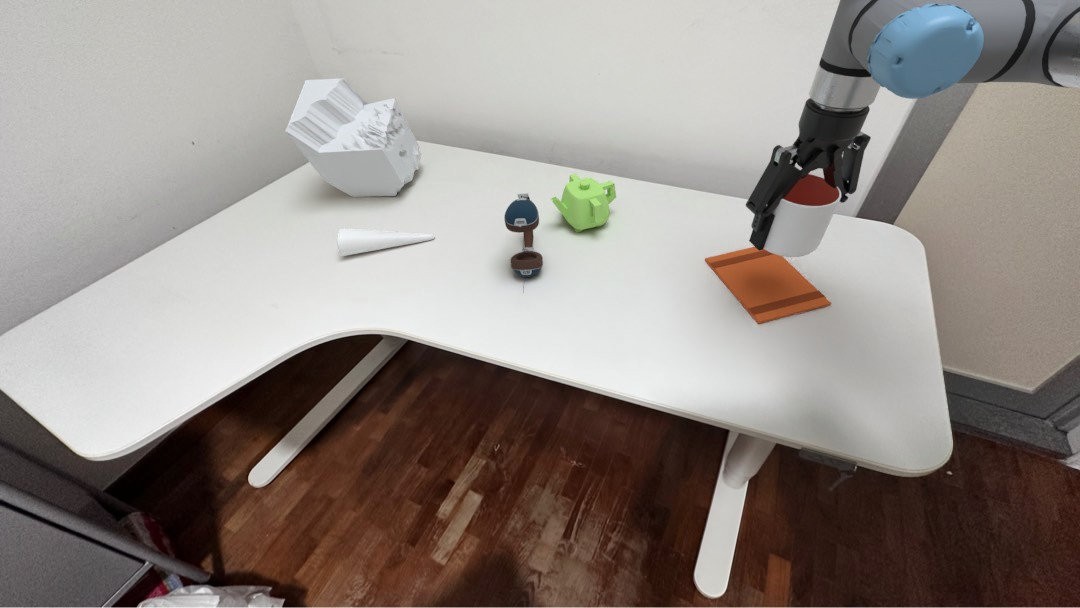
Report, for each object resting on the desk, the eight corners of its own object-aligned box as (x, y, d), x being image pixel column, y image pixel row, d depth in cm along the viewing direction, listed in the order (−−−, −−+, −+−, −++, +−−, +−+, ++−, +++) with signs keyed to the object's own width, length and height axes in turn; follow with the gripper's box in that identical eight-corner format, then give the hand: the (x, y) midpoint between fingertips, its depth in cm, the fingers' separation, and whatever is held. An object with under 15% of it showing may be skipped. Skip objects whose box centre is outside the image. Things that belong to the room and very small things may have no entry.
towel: (830, 305, 80) (831, 302, 79) (758, 324, 78) (759, 321, 77) (767, 245, 92) (768, 242, 92) (704, 260, 90) (705, 257, 90)
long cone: (433, 261, 98) (341, 261, 97) (436, 246, 103) (349, 245, 102) (430, 238, 95) (334, 238, 94) (434, 223, 100) (343, 222, 99)
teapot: (571, 202, 108) (570, 164, 101) (617, 211, 104) (619, 172, 97) (550, 230, 101) (548, 191, 94) (600, 241, 97) (601, 201, 90)
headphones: (542, 305, 83) (544, 241, 100) (536, 233, 73) (539, 176, 90) (508, 307, 83) (516, 243, 100) (497, 235, 74) (508, 177, 91)
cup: (762, 218, 81) (779, 166, 74) (823, 235, 76) (848, 182, 69) (743, 248, 75) (759, 195, 68) (808, 268, 71) (833, 214, 64)
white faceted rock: (427, 155, 124) (390, 75, 101) (417, 203, 117) (375, 128, 95) (356, 157, 126) (305, 79, 104) (342, 204, 120) (285, 131, 97)
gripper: (890, 78, 64) (829, 212, 79) (744, 105, 61) (711, 239, 76) (936, 97, 59) (861, 237, 74) (779, 128, 55) (735, 267, 71)
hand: (785, 238), depth 75 cm, fingers closed on cup, 10 cm apart
